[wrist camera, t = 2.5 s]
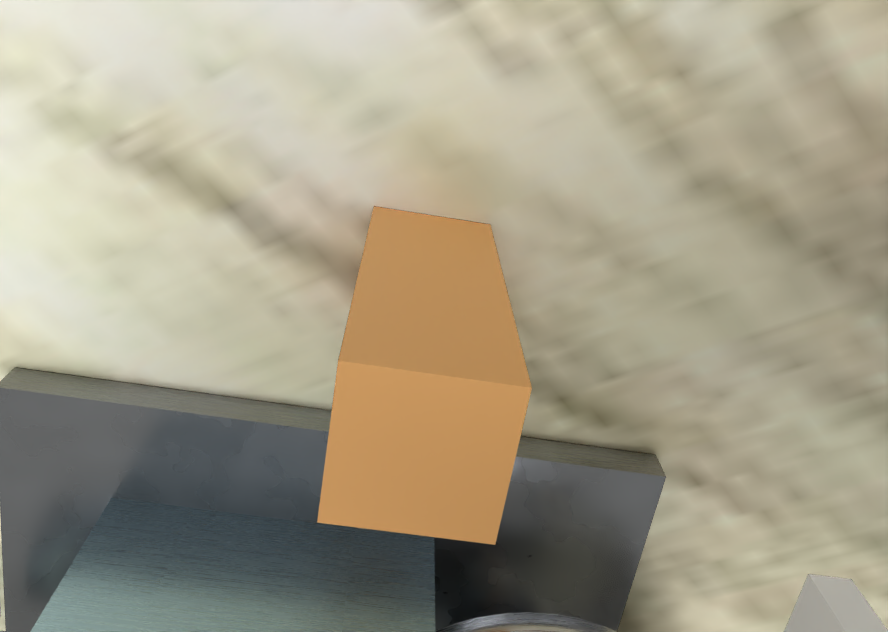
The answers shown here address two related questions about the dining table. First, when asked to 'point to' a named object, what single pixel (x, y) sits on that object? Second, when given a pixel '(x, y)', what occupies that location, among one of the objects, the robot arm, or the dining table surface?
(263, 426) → the grey square hole fixture
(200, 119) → the dining table surface
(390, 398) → the orange rectangular block
